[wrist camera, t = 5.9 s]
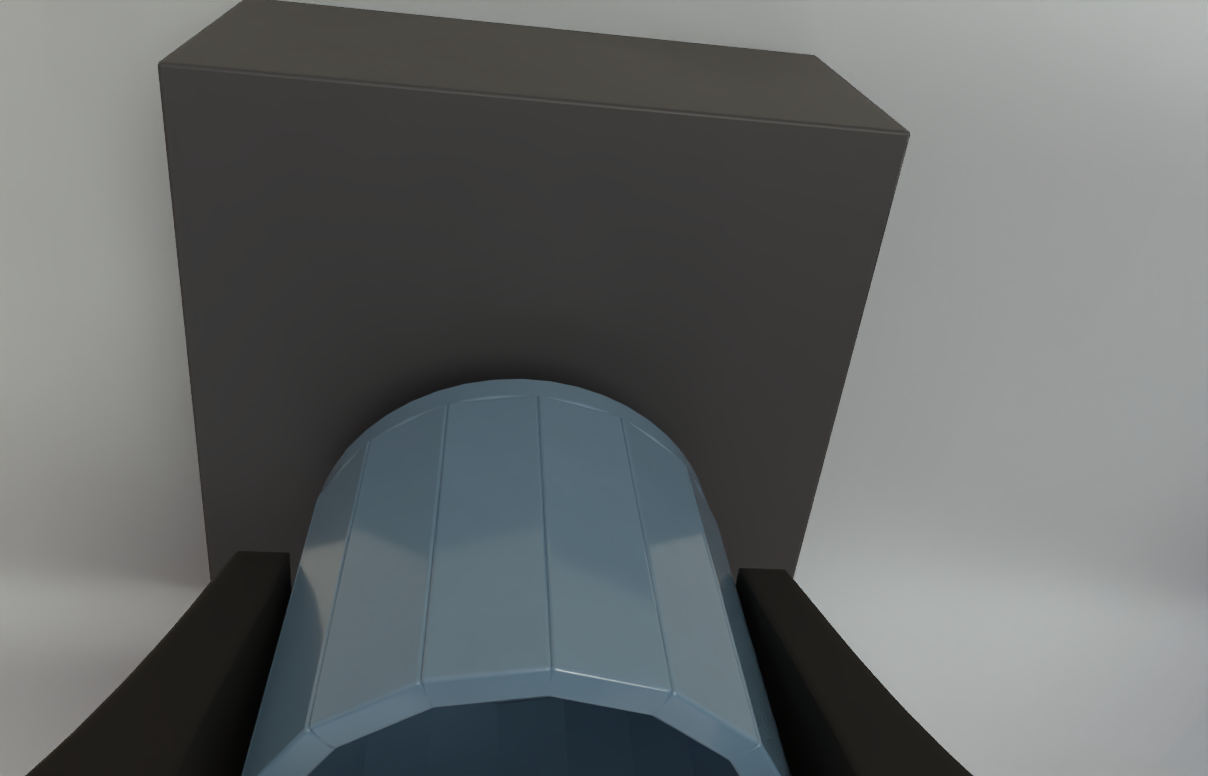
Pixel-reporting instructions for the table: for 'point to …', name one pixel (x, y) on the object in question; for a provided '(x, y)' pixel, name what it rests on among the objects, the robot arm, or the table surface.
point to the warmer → (514, 246)
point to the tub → (514, 604)
